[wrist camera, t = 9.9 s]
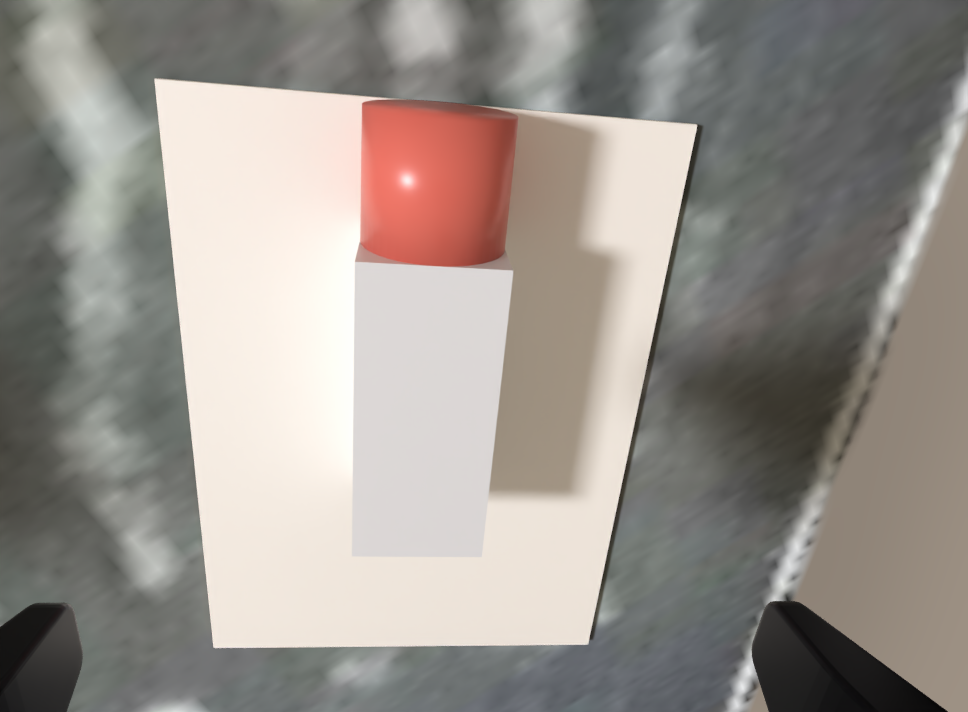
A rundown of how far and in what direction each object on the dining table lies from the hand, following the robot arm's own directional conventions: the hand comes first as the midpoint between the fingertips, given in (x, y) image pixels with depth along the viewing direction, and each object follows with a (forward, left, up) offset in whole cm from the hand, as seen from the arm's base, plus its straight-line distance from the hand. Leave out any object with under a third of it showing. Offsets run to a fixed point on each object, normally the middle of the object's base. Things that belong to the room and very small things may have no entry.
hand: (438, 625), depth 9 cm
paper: (-4, 0, -11) cm, 12 cm away
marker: (0, 0, -11) cm, 11 cm away
